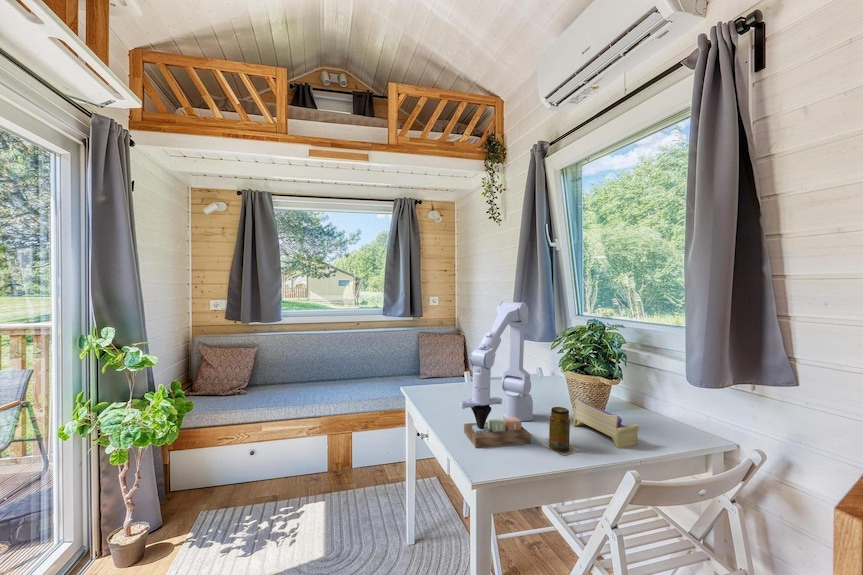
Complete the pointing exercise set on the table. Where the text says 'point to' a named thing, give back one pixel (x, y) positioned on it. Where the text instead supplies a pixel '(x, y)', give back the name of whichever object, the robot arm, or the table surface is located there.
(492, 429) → the sage key
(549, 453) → the table surface
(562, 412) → the condiment
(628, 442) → the toy sofa
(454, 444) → the table surface
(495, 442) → the brown wooden tray
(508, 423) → the terracotta key
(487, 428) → the slate key
